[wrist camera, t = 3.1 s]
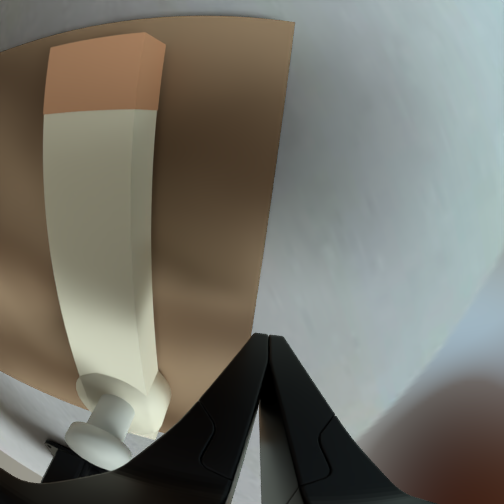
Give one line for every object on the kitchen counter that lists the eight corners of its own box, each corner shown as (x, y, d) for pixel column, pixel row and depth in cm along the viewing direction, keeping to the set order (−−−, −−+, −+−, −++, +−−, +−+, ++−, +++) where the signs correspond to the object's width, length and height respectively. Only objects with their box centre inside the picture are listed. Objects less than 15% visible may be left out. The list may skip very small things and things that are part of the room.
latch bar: (173, 417, 13) (151, 489, 9) (99, 397, 13) (67, 459, 9) (182, 44, 7) (112, -4, 3) (68, 56, 7) (-26, 43, 3)
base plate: (235, 431, 15) (233, 445, 14) (-39, 336, 15) (-46, 343, 14) (293, 31, 8) (295, 22, 7) (-78, 95, 8) (-89, 97, 7)
